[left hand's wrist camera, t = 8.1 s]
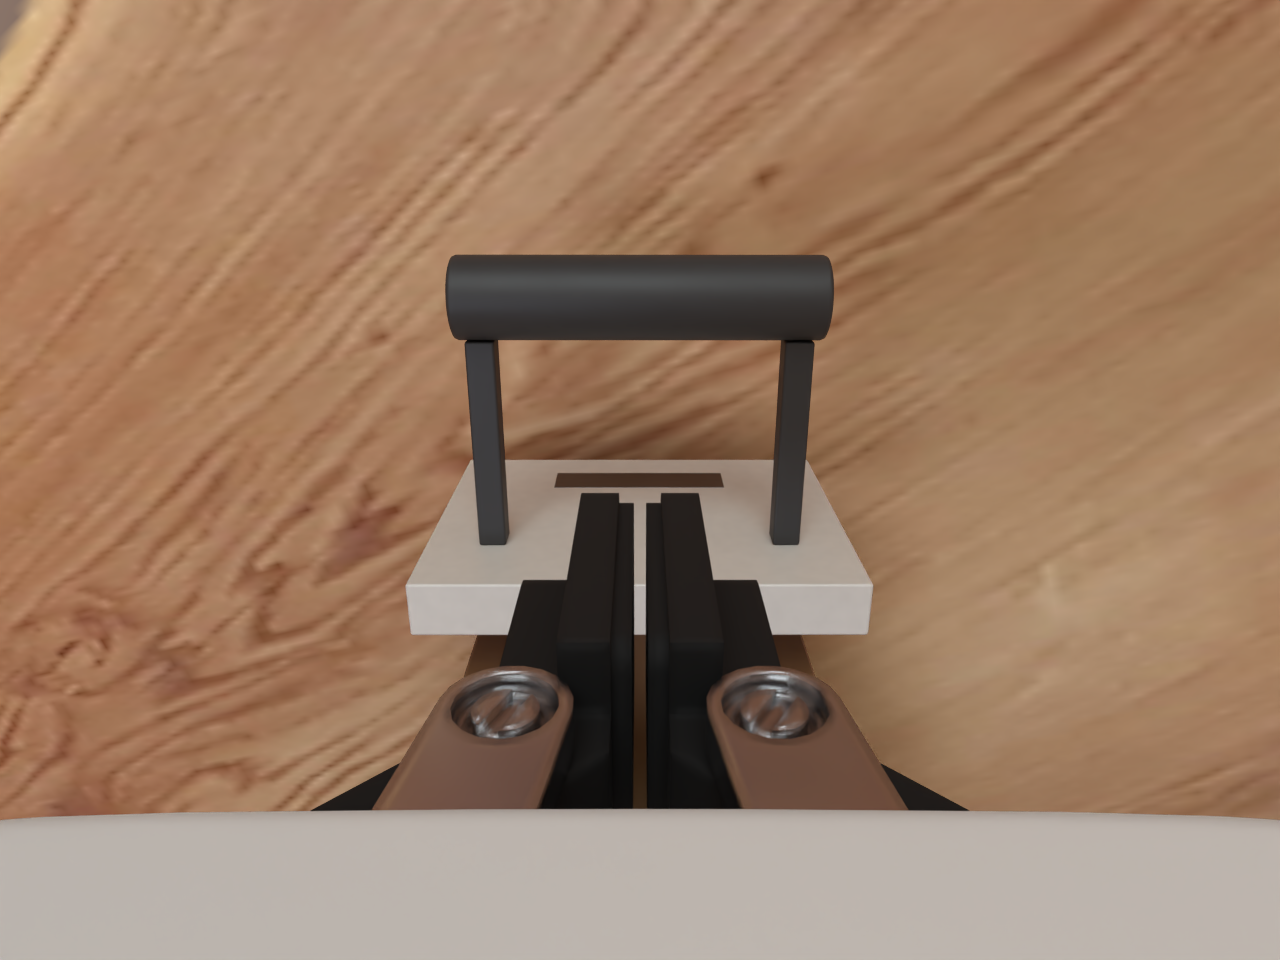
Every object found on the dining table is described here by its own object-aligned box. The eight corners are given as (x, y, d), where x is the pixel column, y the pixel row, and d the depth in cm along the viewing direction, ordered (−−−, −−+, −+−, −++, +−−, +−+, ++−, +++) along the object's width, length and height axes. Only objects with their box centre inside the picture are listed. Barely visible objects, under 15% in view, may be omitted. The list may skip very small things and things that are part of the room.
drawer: (452, 229, 22) (369, 270, 15) (825, 229, 22) (910, 270, 15) (498, 836, 29) (456, 1048, 22) (778, 836, 29) (820, 1047, 22)
